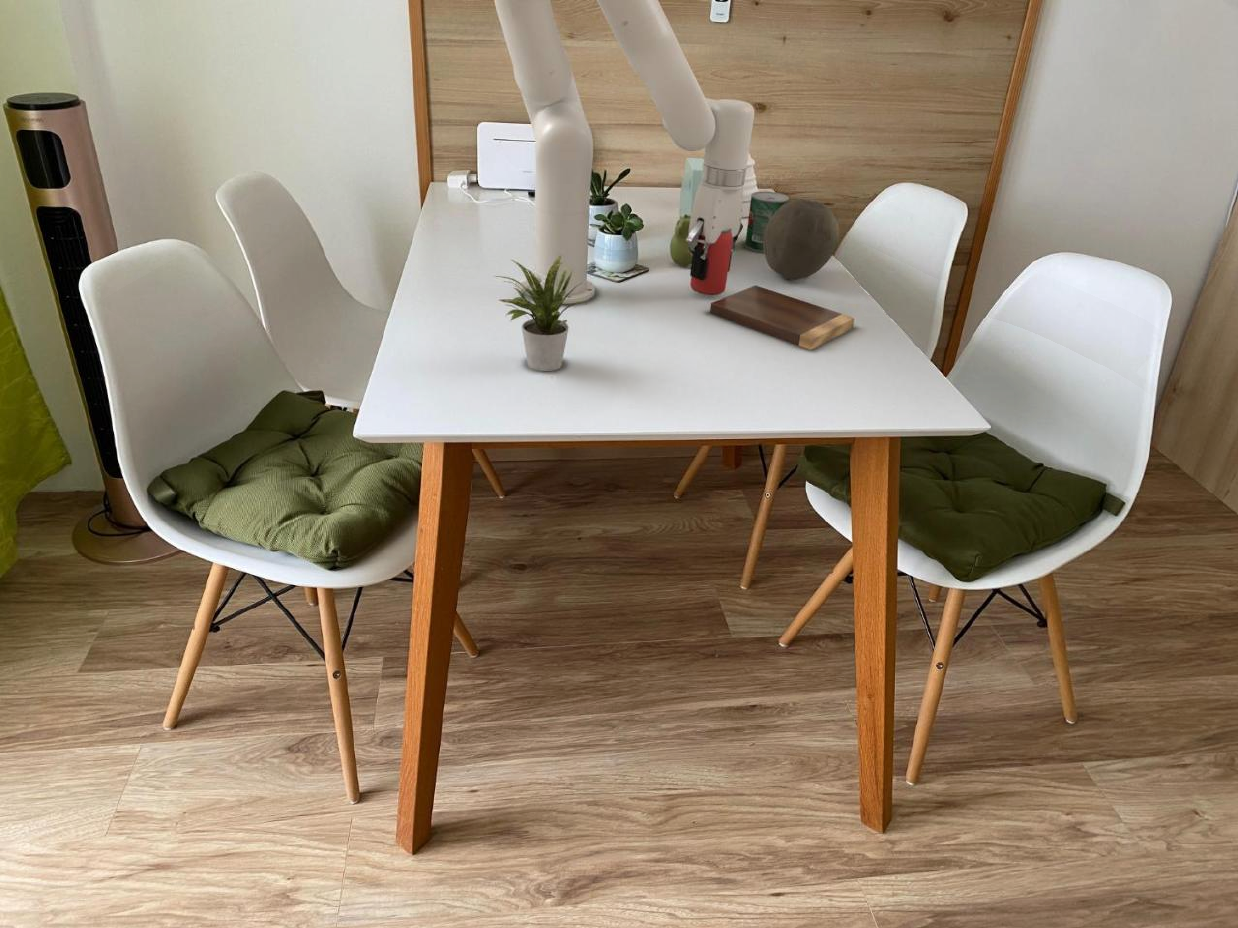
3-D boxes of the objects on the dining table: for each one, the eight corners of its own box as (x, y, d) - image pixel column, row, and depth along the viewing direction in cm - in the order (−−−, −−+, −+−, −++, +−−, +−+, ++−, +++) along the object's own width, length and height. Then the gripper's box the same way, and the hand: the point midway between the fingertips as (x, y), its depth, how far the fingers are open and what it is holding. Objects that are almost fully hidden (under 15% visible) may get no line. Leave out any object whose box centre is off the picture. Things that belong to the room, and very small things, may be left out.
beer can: (702, 281, 174) (711, 219, 167) (731, 291, 170) (741, 228, 164) (682, 289, 169) (690, 225, 163) (711, 299, 166) (721, 234, 160)
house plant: (508, 338, 148) (507, 239, 139) (592, 346, 147) (596, 247, 138) (488, 375, 136) (485, 270, 127) (579, 384, 135) (583, 279, 126)
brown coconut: (810, 295, 173) (823, 216, 165) (746, 276, 180) (756, 200, 172) (842, 277, 183) (856, 202, 175) (780, 260, 190) (791, 187, 182)
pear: (690, 259, 187) (694, 211, 182) (700, 268, 183) (705, 219, 177) (665, 261, 185) (669, 212, 180) (675, 270, 181) (679, 220, 176)
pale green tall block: (715, 270, 196) (733, 204, 177) (679, 268, 195) (694, 203, 177) (711, 208, 203) (728, 139, 184) (676, 207, 202) (690, 137, 184)
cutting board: (810, 350, 150) (812, 339, 149) (709, 313, 162) (710, 303, 161) (852, 328, 160) (854, 317, 159) (753, 295, 171) (755, 285, 170)
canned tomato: (742, 240, 200) (748, 190, 194) (777, 242, 200) (784, 192, 195) (747, 252, 193) (754, 200, 187) (784, 253, 194) (792, 202, 188)
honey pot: (696, 202, 225) (704, 126, 215) (746, 202, 227) (756, 127, 218) (710, 217, 214) (719, 138, 205) (762, 217, 216) (773, 139, 207)
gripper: (734, 165, 167) (720, 260, 176) (675, 177, 155) (664, 277, 164) (768, 174, 163) (752, 270, 172) (711, 187, 151) (697, 290, 160)
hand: (709, 273), depth 168 cm, fingers closed on beer can, 6 cm apart
